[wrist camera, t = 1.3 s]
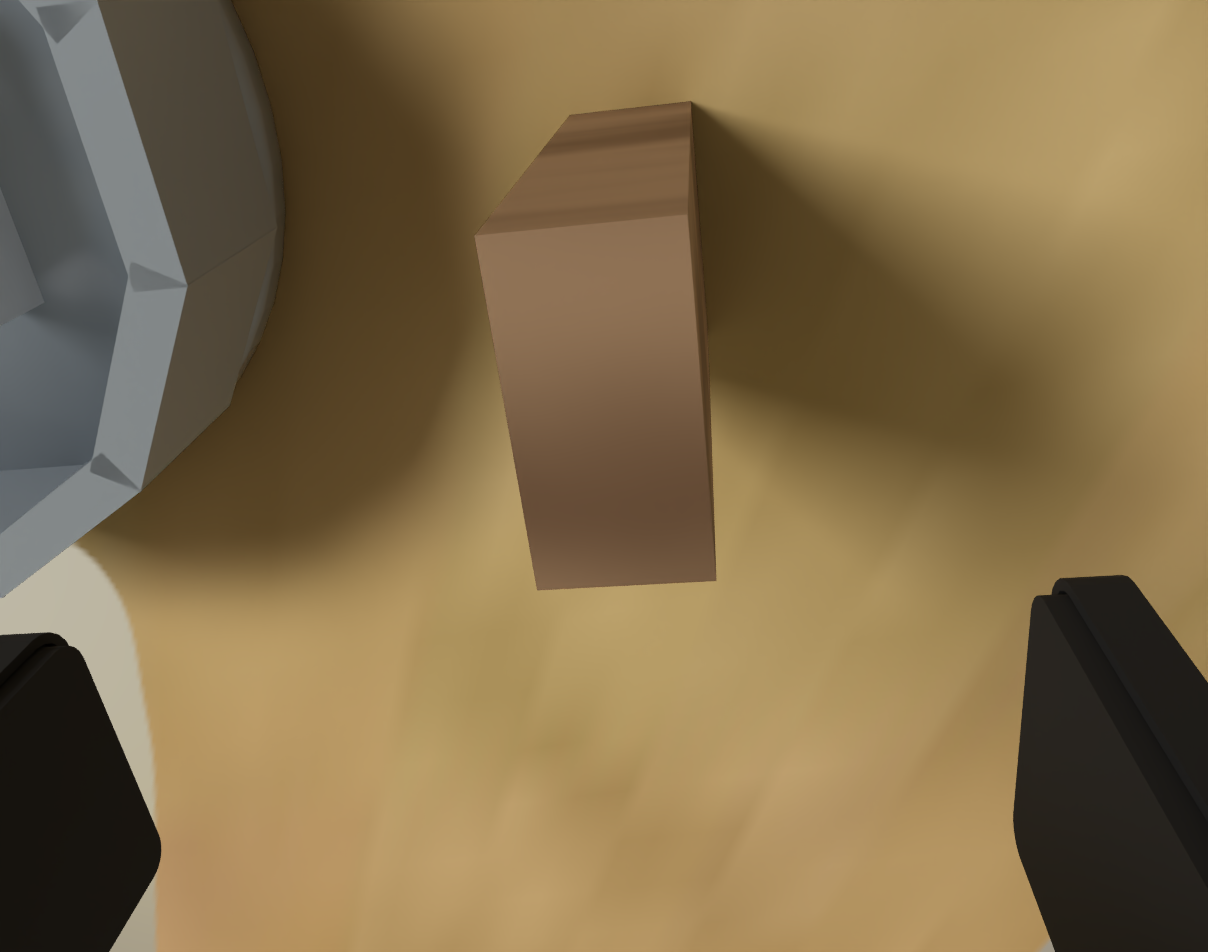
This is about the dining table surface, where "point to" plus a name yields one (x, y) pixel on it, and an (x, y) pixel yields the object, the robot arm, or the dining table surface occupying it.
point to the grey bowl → (123, 251)
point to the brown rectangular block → (607, 351)
